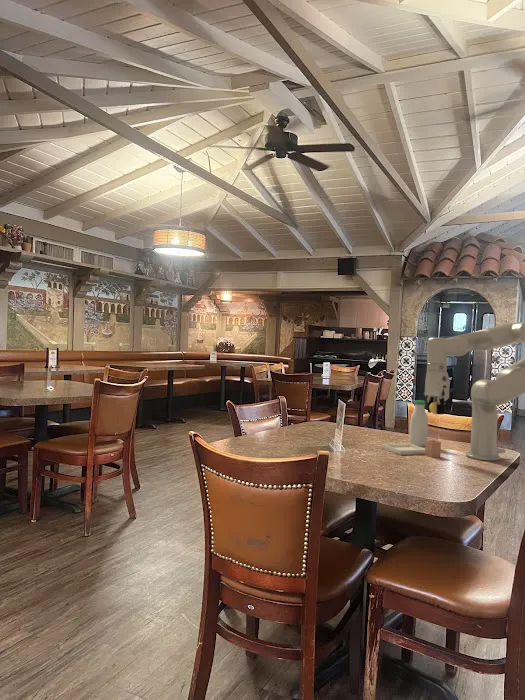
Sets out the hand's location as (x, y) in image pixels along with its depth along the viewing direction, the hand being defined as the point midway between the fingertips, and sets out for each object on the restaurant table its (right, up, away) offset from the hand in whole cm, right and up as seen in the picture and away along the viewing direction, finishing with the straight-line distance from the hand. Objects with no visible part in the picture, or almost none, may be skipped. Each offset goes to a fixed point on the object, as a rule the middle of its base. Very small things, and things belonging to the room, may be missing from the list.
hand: (435, 412), depth 206 cm
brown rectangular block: (-1, -17, 0) cm, 17 cm away
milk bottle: (0, -18, +24) cm, 30 cm away
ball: (0, -1, 0) cm, 1 cm away
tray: (-10, -17, +8) cm, 21 cm away
